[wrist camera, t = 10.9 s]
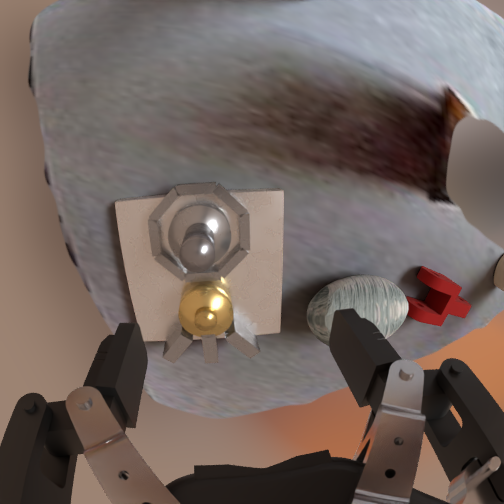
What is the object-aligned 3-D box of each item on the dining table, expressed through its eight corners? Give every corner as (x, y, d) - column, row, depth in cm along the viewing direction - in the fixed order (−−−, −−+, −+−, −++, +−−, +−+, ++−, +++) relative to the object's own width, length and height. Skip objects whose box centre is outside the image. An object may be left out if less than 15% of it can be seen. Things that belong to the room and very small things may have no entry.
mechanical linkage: (395, 303, 40) (412, 320, 36) (416, 263, 38) (435, 276, 34) (447, 317, 44) (462, 330, 39) (464, 284, 42) (481, 296, 37)
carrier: (119, 188, 29) (99, 198, 23) (279, 177, 31) (294, 184, 25) (147, 340, 36) (139, 371, 31) (276, 332, 38) (287, 362, 33)
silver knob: (167, 204, 28) (155, 221, 22) (229, 200, 29) (234, 216, 23) (173, 261, 31) (164, 292, 24) (231, 258, 32) (237, 287, 25)
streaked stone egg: (296, 352, 36) (344, 367, 27) (291, 281, 37) (340, 277, 28) (368, 333, 41) (418, 339, 32) (365, 273, 42) (416, 268, 33)
